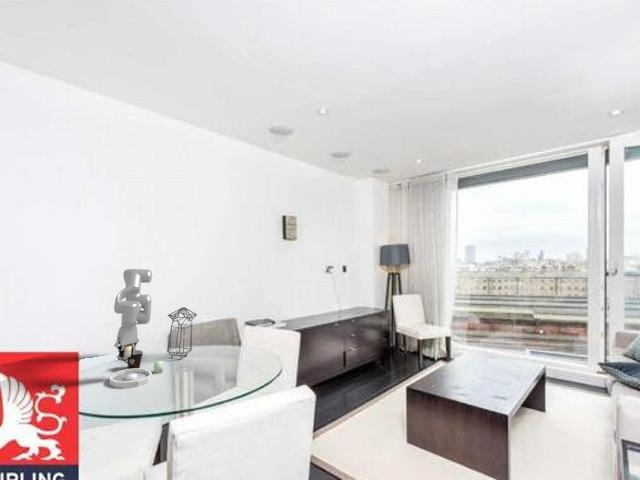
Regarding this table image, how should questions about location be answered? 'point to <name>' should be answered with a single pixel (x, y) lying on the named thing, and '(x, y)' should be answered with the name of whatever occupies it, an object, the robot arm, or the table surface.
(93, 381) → the table surface
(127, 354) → the birch bead
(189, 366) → the table surface
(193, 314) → the geometric lantern
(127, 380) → the groove tray
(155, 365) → the sage bead
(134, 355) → the coffee mug
